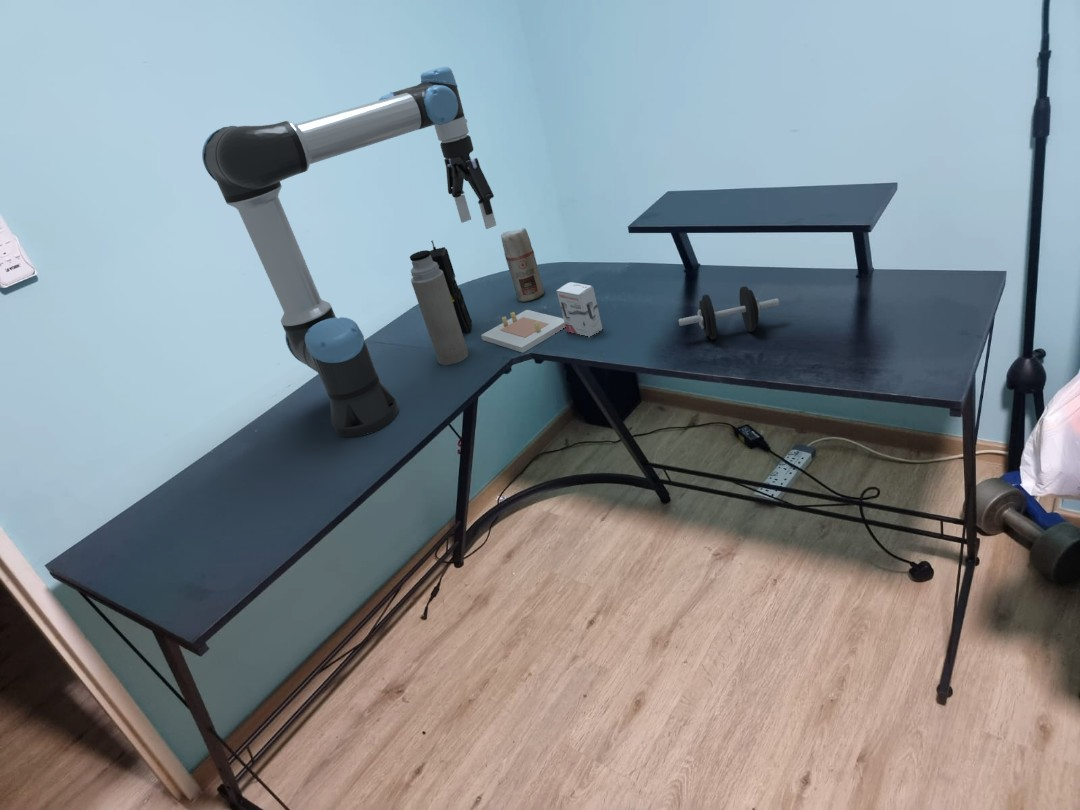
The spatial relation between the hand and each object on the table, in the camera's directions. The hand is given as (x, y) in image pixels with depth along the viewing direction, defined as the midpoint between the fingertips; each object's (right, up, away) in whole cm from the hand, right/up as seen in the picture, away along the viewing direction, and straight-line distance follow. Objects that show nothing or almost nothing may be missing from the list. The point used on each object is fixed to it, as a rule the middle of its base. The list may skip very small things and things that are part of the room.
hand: (478, 224), depth 180 cm
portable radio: (-6, -26, +14) cm, 30 cm away
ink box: (+27, -28, -4) cm, 39 cm away
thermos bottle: (-6, -34, 0) cm, 35 cm away
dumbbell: (+58, -30, -23) cm, 69 cm away
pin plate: (+12, -27, +3) cm, 30 cm away
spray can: (+13, -15, +24) cm, 32 cm away
